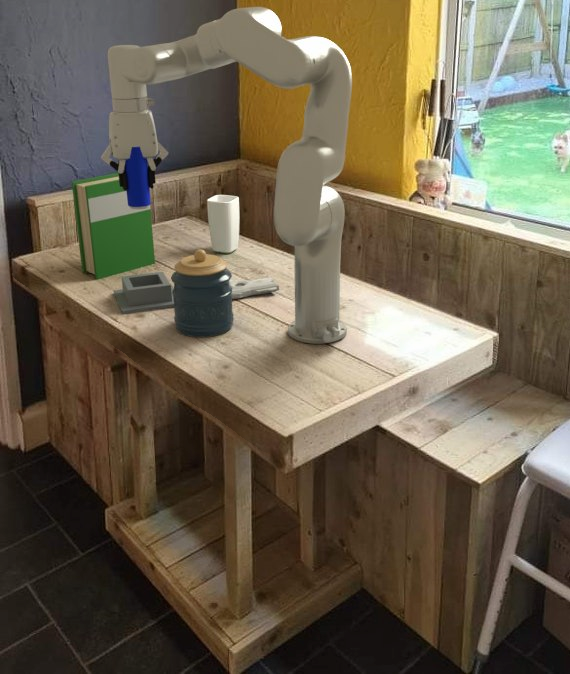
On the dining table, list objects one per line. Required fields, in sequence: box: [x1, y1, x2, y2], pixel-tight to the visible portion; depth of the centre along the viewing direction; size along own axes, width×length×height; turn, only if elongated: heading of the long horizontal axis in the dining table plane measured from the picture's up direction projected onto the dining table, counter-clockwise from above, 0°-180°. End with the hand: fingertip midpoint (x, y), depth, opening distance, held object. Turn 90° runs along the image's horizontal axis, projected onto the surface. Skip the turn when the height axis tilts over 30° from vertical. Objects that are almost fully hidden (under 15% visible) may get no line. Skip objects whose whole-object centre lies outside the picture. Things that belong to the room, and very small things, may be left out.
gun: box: [229, 277, 280, 300], centre depth 201 cm, size 18×4×10 cm
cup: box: [206, 194, 240, 254], centre depth 229 cm, size 7×7×15 cm
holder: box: [113, 271, 174, 315], centre depth 197 cm, size 14×14×5 cm
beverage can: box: [124, 145, 152, 209], centre depth 186 cm, size 5×5×15 cm
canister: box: [170, 248, 234, 338], centre depth 179 cm, size 13×13×18 cm
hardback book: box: [71, 172, 156, 281], centre depth 215 cm, size 18×7×24 cm, turn 132°
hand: (137, 187), depth 187 cm, fingers closed on beverage can, 5 cm apart
